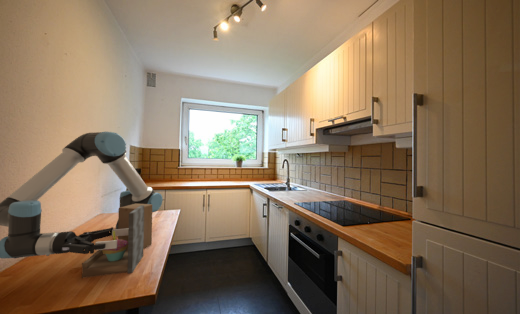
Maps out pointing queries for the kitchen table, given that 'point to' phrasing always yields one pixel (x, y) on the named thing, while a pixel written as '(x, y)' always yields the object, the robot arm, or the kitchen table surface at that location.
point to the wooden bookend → (131, 258)
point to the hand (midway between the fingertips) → (124, 237)
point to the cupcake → (116, 250)
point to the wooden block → (124, 222)
